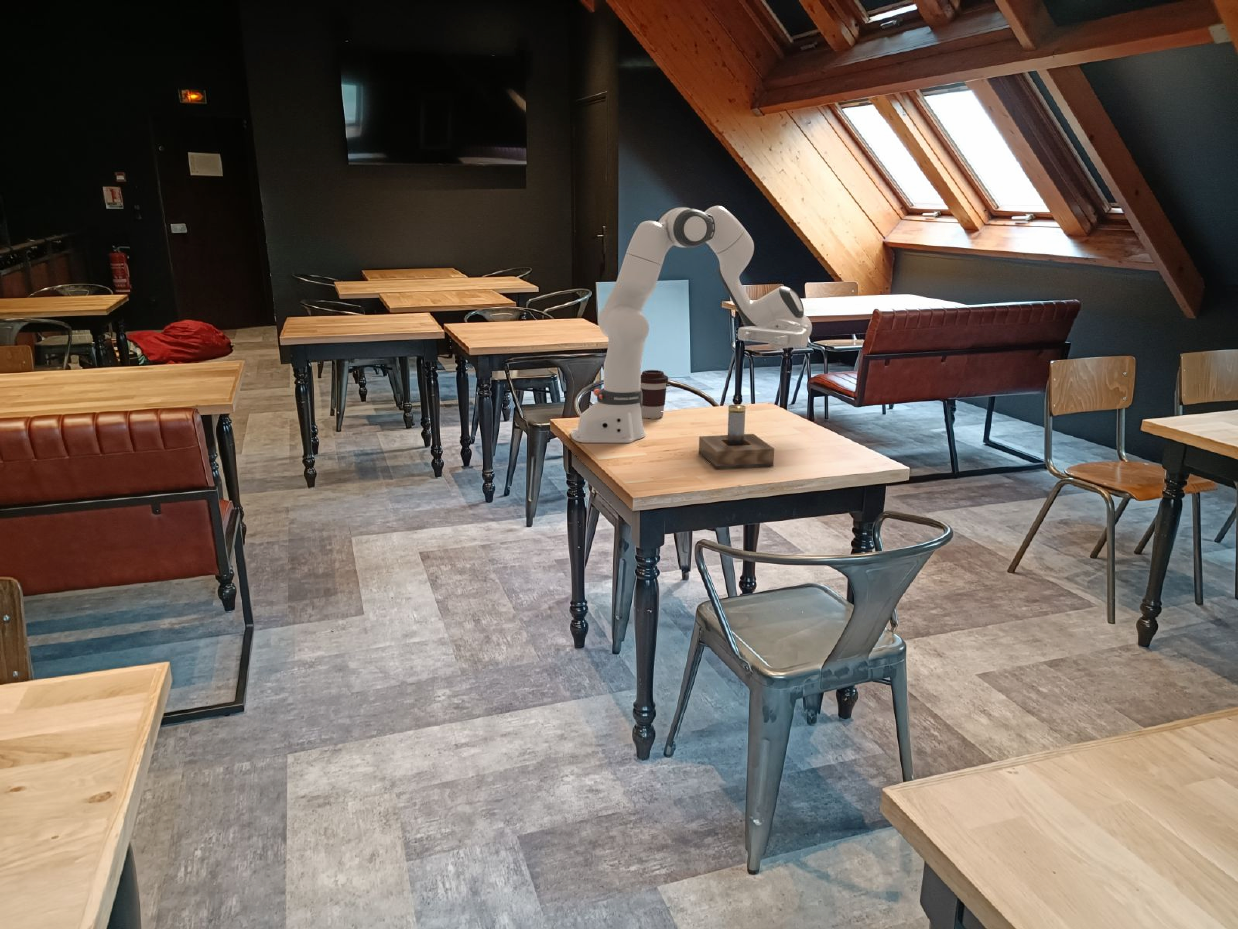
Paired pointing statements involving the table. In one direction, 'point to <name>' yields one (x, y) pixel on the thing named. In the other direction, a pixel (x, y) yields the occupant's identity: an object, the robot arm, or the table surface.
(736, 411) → the steel rod
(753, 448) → the post block
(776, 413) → the table surface
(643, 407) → the coffee cup
